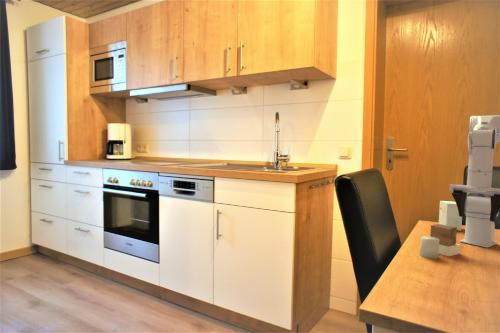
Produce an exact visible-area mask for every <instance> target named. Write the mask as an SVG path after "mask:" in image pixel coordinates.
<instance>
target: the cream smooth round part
mask: <svg viewBox="0 0 500 333" xmlns="http://www.w3.org/2000/svg"><path fill="white" fill-rule="evenodd" d="M439 255H440V254H439V239H438V238H434V237H430V236H428V235H427V236H424V235H423V236H421V237H420V249H419V256H421V257H423V258H426V259H433V260H437V259H439Z"/></svg>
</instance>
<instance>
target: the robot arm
mask: <svg viewBox="0 0 500 333" xmlns="http://www.w3.org/2000/svg"><path fill="white" fill-rule="evenodd" d="M468 124H469V127H468V128H469V129H468V130H469V132H468V135H467V148H468V153H467V154H468V165H467V180H466V185H465V184H452V183H451V184H449V188H448V189H449V191H450V192H451V196H452V198H453V200H454V202H456V205H457V208H458V212H459V216H460V217H462V218H463V217H465V216H466V217H465V227H464V228H465V231H464V238H462V239H460V240H459V242H460V243H465V244H469V245H474V246H477V247H483V248H490V247H493V246H495V245H497V244H498V242H497V241H495V240H494V239H495V229H496V228H495V227H496V225H495V222H496V219H497V217H498V216H499V211H500V188H499V187H498V188H497V187H492V180H493V166H494V153H495V150H496V149H497V148H496V147H497V144H499V143H500V114H496V115H495V114H494V115H493V114H492V115H470V117H469V123H468Z"/></svg>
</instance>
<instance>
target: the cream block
mask: <svg viewBox="0 0 500 333" xmlns="http://www.w3.org/2000/svg"><path fill="white" fill-rule="evenodd" d="M460 248H461V244H459V243H456V244H455V245H452V246H449V247H448V246H444V245H439V255H443V256H445V257H451V256H452V257H453V256H455V255H460V252H461V249H460Z"/></svg>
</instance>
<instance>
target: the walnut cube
mask: <svg viewBox="0 0 500 333" xmlns="http://www.w3.org/2000/svg"><path fill="white" fill-rule="evenodd" d="M457 233H458V230H457V227H453V226H448V225H442V224H439V223H436V224H432V225H430V233H429V234H430V235H429V237H434V238H438V239H439V245H444V246H448V247H449V246H452V245H455V244H457Z"/></svg>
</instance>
